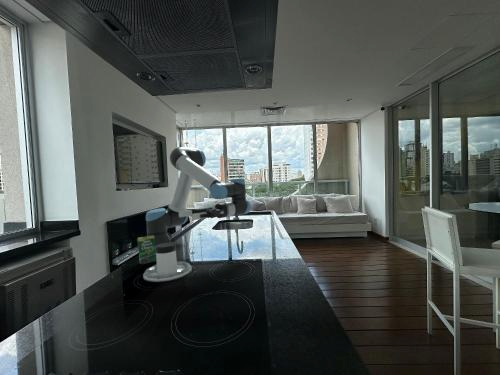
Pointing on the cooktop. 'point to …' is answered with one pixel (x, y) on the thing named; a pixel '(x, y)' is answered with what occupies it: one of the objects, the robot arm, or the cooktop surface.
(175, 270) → the jar
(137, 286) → the cooktop surface
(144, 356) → the cooktop surface
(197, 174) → the robot arm
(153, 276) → the rosette plate
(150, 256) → the coffee box
